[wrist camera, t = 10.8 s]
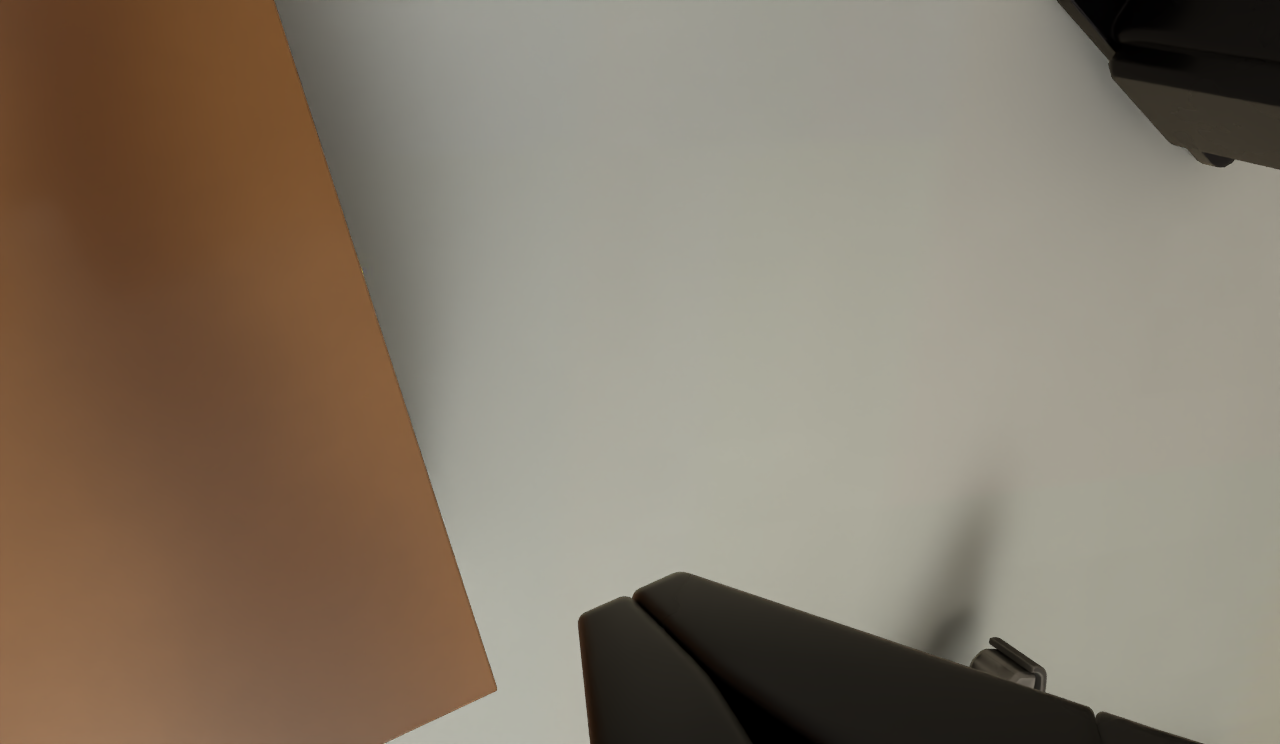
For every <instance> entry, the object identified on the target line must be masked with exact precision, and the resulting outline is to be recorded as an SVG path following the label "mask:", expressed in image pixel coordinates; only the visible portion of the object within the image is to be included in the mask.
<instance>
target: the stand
mask: <svg viewBox="0 0 1280 744" xmlns="http://www.w3.org/2000/svg"><path fill="white" fill-rule="evenodd" d="M496 690H497V686H496V683H495V680H494V677H493V673H492V670H491V667H490V664H489V661H488V658H487V655H486V652H485V649H484V646H483V643H482V640H481V636H480V633H479V630H478V627H477V624H476V621H475V618H474V615H473V612H472V609H471V606H470V603H469V599H468V596H467V593H466V590H465V587H464V584H463V581H462V578H461V575H460V572H459V569H458V565H457V562H456V559H455V556H454V553H453V550H452V547H451V544H450V541H449V538H448V535H447V532H446V528H445V525H444V522H443V519H442V516H441V513H440V510H439V507H438V504H437V501H436V498H435V495H434V491H433V488H432V485H431V482H430V479H429V476H428V473H427V470H426V467H425V464H424V461H423V458H422V454H421V451H420V448H419V445H418V442H417V439H416V436H415V433H414V430H413V427H412V424H411V421H410V417H409V414H408V411H407V408H406V405H405V402H404V399H403V396H402V393H401V390H400V387H399V384H398V380H397V377H396V374H395V371H394V368H393V365H392V362H391V359H390V356H389V353H388V350H387V347H386V343H385V340H384V337H383V334H382V331H381V328H380V325H379V322H378V319H377V316H376V313H375V310H374V306H373V303H372V300H371V297H370V294H369V291H368V288H367V285H366V282H365V279H364V276H363V273H362V269H361V266H360V263H359V260H358V257H357V254H356V251H355V248H354V245H353V242H352V239H351V236H350V232H349V229H348V226H347V223H346V220H345V217H344V214H343V211H342V208H341V205H340V202H339V199H338V195H337V192H336V189H335V186H334V183H333V180H332V177H331V174H330V171H329V168H328V165H327V162H326V158H325V155H324V152H323V149H322V146H321V143H320V140H319V137H318V134H317V131H316V128H315V125H314V121H313V118H312V115H311V112H310V109H309V106H308V103H307V100H306V97H305V94H304V91H303V88H302V84H301V81H300V78H299V75H298V72H297V69H296V66H295V63H294V60H293V57H292V54H291V51H290V47H289V44H288V41H287V38H286V35H285V32H284V29H283V26H282V23H281V20H280V17H279V13H278V10H277V7H276V4H275V1H274V0H0V744H384V743H386V742H388V741H390V740H392V739H395V738H397V737H399V736H401V735H403V734H405V733H407V732H409V731H412V730H414V729H416V728H418V727H420V726H422V725H424V724H427V723H429V722H431V721H433V720H435V719H437V718H439V717H442V716H444V715H446V714H448V713H450V712H452V711H454V710H456V709H459V708H461V707H463V706H465V705H467V704H469V703H471V702H474V701H476V700H478V699H480V698H482V697H484V696H486V695H488V694H491V693H493V692H495V691H496Z"/></svg>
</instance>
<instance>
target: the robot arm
mask: <svg viewBox="0 0 1280 744" xmlns="http://www.w3.org/2000/svg"><path fill="white" fill-rule="evenodd" d="M1057 1H1058V3H1059V4H1060V5H1061V6H1062V7H1063V8H1064V9H1065V11H1066V12H1067V13H1068V14H1069V15H1070V16H1071V17H1072V19H1073V20H1074V21H1075V22H1076V23H1077V24H1078V25H1079V26H1080V28H1081V29H1082V30H1083V31H1084V32H1085V33H1086V34H1087V36H1088V37H1089V38H1090V39H1091V40H1092V41H1093V42H1094V44H1095V45H1096V46H1097V47H1098V48H1099V49H1100V50H1101V52H1102V53H1103V54H1104V55H1105V56H1106V57H1107V58H1108V59H1109V63H1108V65H1109V69H1110V73H1111V77H1112V79H1113V80H1114V81H1115V82H1116V83H1117V84H1118V85H1119V86H1120V88H1121V89H1122V90H1123V91H1124V92H1125V93H1126V94H1127V95H1128V97H1129V98H1130V99H1131V100H1132V101H1133V102H1134V103H1135V104H1136V106H1137V107H1138V108H1139V109H1140V110H1141V111H1142V112H1143V113H1144V115H1145V116H1146V117H1147V118H1148V119H1149V120H1150V121H1151V122H1152V124H1153V125H1154V126H1155V127H1156V128H1157V129H1158V130H1159V131H1160V133H1161V134H1162V135H1163V136H1164V137H1165V138H1166V139H1167V140H1168V142H1170V143H1171V144H1173V145H1176V146H1180V147H1185V148H1187V149H1188V151H1189V152H1190V153H1191V154H1192V155H1193V156H1194V157H1195V158H1196V160H1197V161H1199V162H1201V163H1202V164H1206V165H1210V166H1215V167H1226V166H1227V165H1229V164H1231V163H1232V162H1233V161H1234V160H1235V159H1236V160H1241V161H1245V162H1249V163H1253V164H1258V165H1262V166H1266V167H1271V168H1275V169H1279V170H1280V0H1057ZM578 630H579V639H580V649H581V659H582V669H583V678H584V688H585V698H586V708H587V717H588V727H589V737H590V744H1203V743H1200V742H1196V741H1193V740H1190V739H1187V738H1183V737H1180V736H1177V735H1174V734H1170V733H1167V732H1164V731H1161V730H1158V729H1154V728H1151V727H1148V726H1146V725H1143V724H1140V723H1137V722H1134V721H1131V720H1128V719H1125V718H1122V717H1119V716H1116V715H1113V714H1110V713H1107V712H1099V713H1098V714H1097V715H1096V718H1095V716H1094V712H1093V711H1092V709H1091V708H1090V707H1087V706H1084V705H1081V704H1078V703H1075V702H1072V701H1069V700H1067V699H1064V698H1061V697H1058V696H1055V695H1052V694H1049V693H1046V692H1043V691H1040V690H1037V689H1034V688H1031V687H1028V686H1025V685H1022V684H1019V683H1016V682H1013V681H1010V680H1007V679H1004V678H1001V677H998V676H995V675H992V674H989V673H986V672H983V671H980V670H977V669H974V668H971V667H968V666H965V665H962V664H959V663H956V662H953V661H950V660H947V659H944V658H941V657H938V656H935V655H932V654H929V653H926V652H923V651H920V650H917V649H914V648H911V647H908V646H905V645H902V644H899V643H896V642H893V641H890V640H887V639H884V638H881V637H878V636H875V635H872V634H869V633H866V632H863V631H860V630H857V629H854V628H851V627H848V626H845V625H842V624H839V623H836V622H833V621H830V620H827V619H824V618H821V617H818V616H815V615H812V614H809V613H806V612H803V611H800V610H797V609H794V608H791V607H789V606H786V605H783V604H780V603H777V602H774V601H771V600H768V599H765V598H762V597H759V596H756V595H753V594H750V593H747V592H744V591H741V590H738V589H735V588H732V587H729V586H726V585H723V584H720V583H717V582H714V581H711V580H708V579H705V578H702V577H699V576H696V575H693V574H690V573H686V572H676V573H673V574H671V575H668V576H666V577H664V578H662V579H659V580H657V581H655V582H653V583H650V584H648V585H646V586H644V587H641V588H639V589H638V590H636V591H635V593H634V594H633V597H632V598H630V597H626V596H623V597H619V598H617V599H614V600H612V601H610V602H607V603H605V604H603V605H601V606H598V607H596V608H594V609H592V610H589V611H587V612H585V613H583V614H582V615H581V616H580V618H579V620H578Z"/></svg>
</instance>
